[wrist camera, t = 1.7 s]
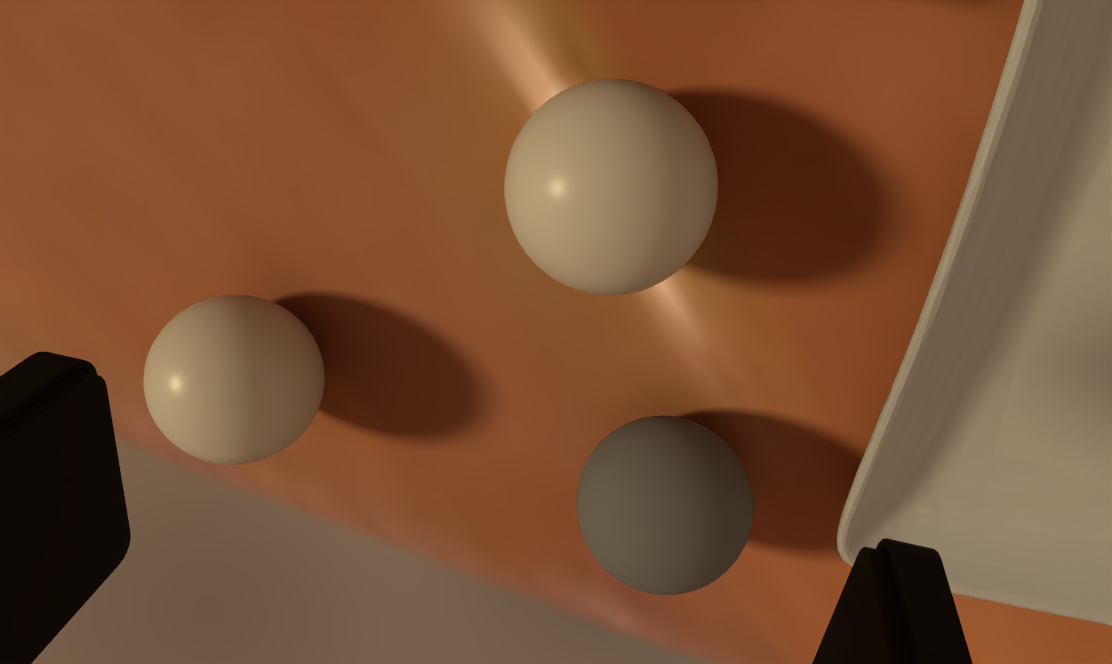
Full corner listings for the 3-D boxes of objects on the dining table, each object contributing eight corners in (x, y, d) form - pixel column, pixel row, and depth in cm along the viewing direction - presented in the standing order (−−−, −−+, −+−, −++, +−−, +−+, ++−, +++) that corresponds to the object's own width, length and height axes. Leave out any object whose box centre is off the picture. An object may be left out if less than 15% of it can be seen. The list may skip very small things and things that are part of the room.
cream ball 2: (741, 76, 21) (739, 135, 16) (698, 261, 23) (687, 353, 19) (541, 42, 21) (489, 90, 17) (520, 225, 24) (471, 308, 19)
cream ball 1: (350, 285, 26) (272, 371, 21) (350, 416, 28) (280, 517, 24) (197, 252, 26) (91, 330, 22) (211, 385, 29) (117, 478, 25)
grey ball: (771, 402, 25) (776, 517, 21) (731, 528, 27) (728, 652, 23) (604, 367, 25) (575, 471, 21) (581, 493, 28) (550, 608, 24)
